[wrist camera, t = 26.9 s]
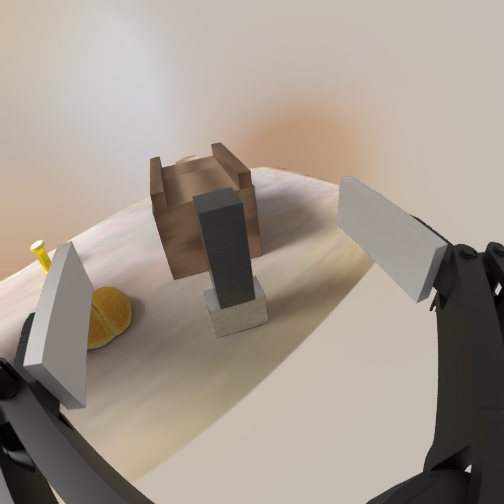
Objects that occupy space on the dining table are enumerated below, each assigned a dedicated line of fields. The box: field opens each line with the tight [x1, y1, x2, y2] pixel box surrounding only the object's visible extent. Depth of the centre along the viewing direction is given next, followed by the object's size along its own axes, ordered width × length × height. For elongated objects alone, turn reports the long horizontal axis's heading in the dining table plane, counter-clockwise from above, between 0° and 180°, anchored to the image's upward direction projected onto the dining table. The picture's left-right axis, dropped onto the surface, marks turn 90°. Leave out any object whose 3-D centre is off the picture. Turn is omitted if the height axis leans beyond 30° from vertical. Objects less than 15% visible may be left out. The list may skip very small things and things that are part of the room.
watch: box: [30, 240, 51, 274], centre depth 41 cm, size 6×3×6 cm, turn 54°
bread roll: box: [87, 287, 132, 350], centre depth 31 cm, size 8×9×4 cm
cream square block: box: [175, 155, 198, 164], centre depth 53 cm, size 4×4×3 cm
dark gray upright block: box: [192, 187, 268, 338], centre depth 27 cm, size 6×3×14 cm, turn 108°
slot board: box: [150, 143, 262, 280], centre depth 42 cm, size 12×16×12 cm
